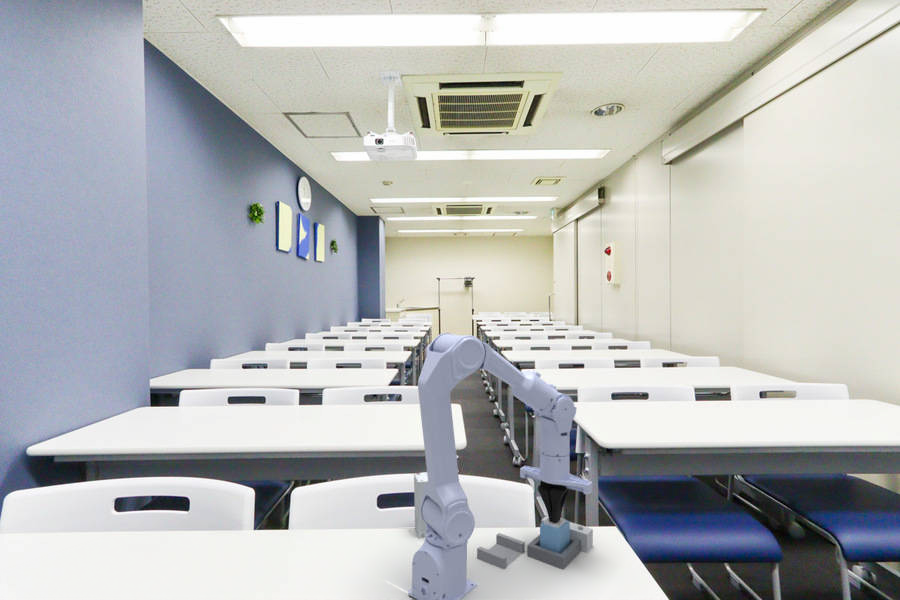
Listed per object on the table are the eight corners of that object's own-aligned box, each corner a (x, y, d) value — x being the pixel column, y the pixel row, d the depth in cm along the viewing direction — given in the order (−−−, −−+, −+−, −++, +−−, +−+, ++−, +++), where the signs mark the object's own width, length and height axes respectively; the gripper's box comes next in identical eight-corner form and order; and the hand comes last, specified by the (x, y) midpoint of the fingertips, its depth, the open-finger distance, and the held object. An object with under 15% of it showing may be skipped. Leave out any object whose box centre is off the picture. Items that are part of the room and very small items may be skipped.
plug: (559, 562, 87) (559, 528, 88) (539, 555, 90) (540, 521, 90) (569, 551, 91) (569, 518, 91) (551, 545, 94) (551, 513, 94)
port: (569, 574, 84) (569, 550, 84) (521, 555, 90) (521, 533, 90) (592, 548, 93) (592, 527, 93) (547, 533, 99) (547, 513, 99)
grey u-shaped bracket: (503, 571, 85) (503, 559, 85) (477, 560, 88) (477, 548, 89) (524, 553, 91) (524, 542, 91) (498, 543, 95) (498, 532, 95)
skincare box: (438, 538, 97) (438, 480, 97) (417, 540, 96) (417, 482, 96) (432, 525, 103) (433, 470, 103) (413, 527, 102) (413, 472, 102)
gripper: (598, 454, 90) (598, 524, 89) (531, 441, 98) (531, 504, 98) (584, 464, 84) (584, 538, 84) (515, 449, 93) (514, 516, 93)
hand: (554, 521), depth 91 cm, fingers closed, pressing on plug
